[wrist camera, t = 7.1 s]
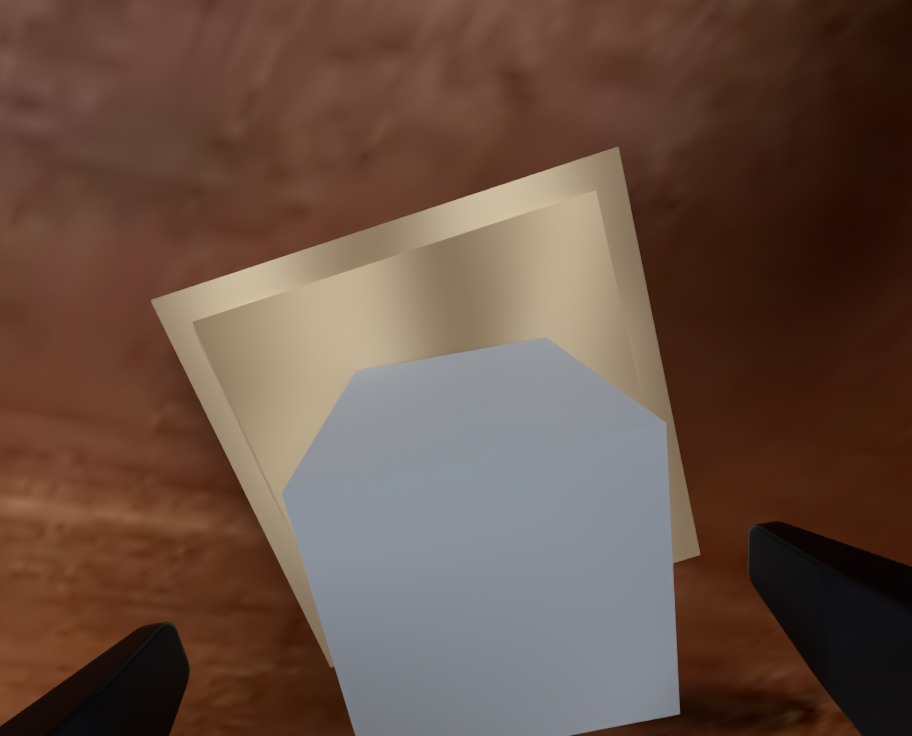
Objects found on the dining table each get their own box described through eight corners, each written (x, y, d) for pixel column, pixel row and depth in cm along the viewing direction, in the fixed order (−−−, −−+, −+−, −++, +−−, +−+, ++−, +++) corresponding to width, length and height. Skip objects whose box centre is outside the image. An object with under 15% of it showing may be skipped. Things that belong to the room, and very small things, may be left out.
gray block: (546, 337, 12) (666, 423, 6) (565, 505, 13) (679, 714, 7) (355, 371, 11) (282, 492, 6) (394, 536, 13) (366, 774, 7)
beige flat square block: (578, 170, 14) (621, 144, 11) (652, 502, 17) (703, 557, 13) (209, 291, 14) (146, 300, 11) (348, 596, 17) (329, 672, 14)
